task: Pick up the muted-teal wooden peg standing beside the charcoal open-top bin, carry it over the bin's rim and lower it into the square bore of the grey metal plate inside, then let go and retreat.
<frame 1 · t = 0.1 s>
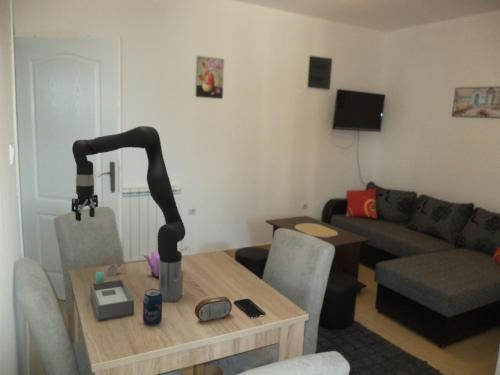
hand: (85, 218, 173), 29 cm above the table, fingers open, 8 cm apart
bluetooth speaker: (213, 319, 148), on the table
phone: (248, 310, 158), on the table
soda can: (152, 322, 143), on the table
lighter: (115, 275, 185), on the table
peg: (99, 289, 167), on the table
teapot: (162, 275, 188), on the table
bin: (111, 305, 154), on the table
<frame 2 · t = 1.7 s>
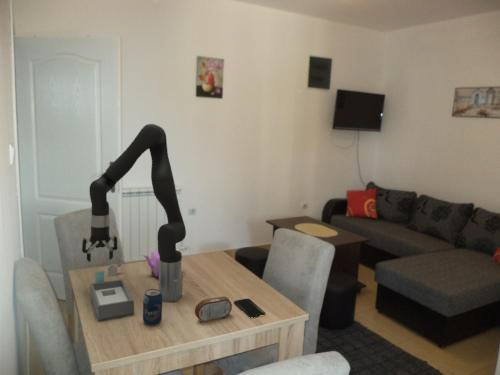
hand: (99, 260, 166), 14 cm above the table, fingers open, 8 cm apart
nothing on the table moved.
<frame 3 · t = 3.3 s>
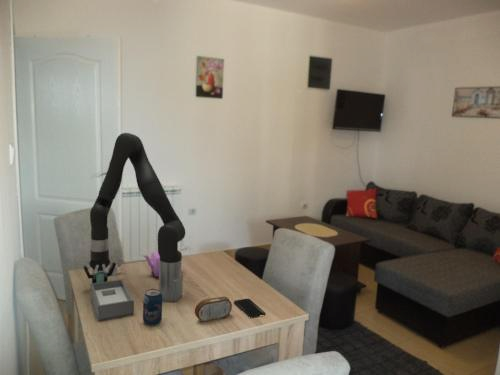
hand: (99, 285, 167), 2 cm above the table, fingers closed on peg, 3 cm apart
peg: (99, 289, 167), on the table, touching gripper
everything else where it was.
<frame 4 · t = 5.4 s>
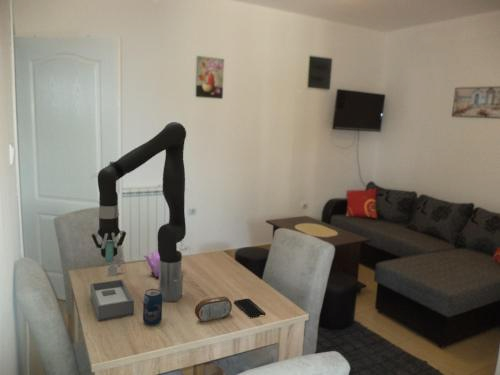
hand: (109, 256, 156), 19 cm above the table, fingers closed on peg, 3 cm apart
peg: (109, 260, 157), point 17 cm above the table, touching gripper
everything else where it was.
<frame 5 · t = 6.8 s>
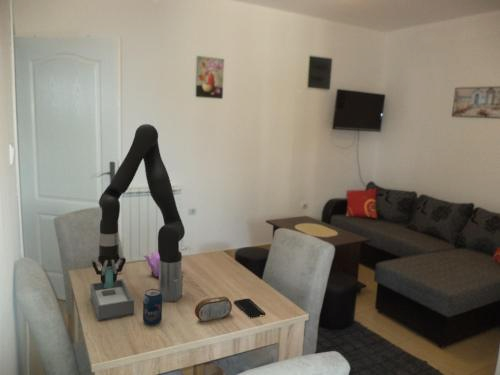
hand: (108, 282, 158), 8 cm above the table, fingers closed on peg, 3 cm apart
peg: (108, 286, 158), point 6 cm above the table, touching gripper
everything else where it was.
when the fingers open (4 cm above the table, at t = 7.8 s): peg drops 1 cm, resting on bin.
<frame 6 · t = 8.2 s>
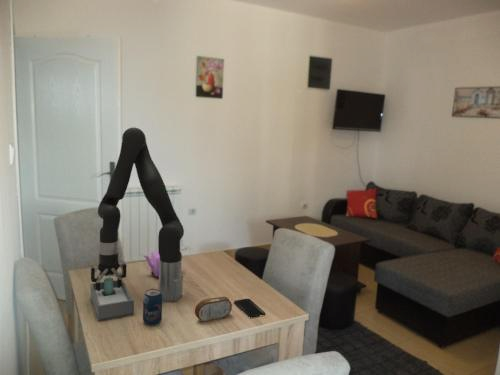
hand: (108, 288, 158), 5 cm above the table, fingers open, 7 cm apart
peg: (108, 297, 159), point 1 cm above the table, touching bin
everything else where it was.
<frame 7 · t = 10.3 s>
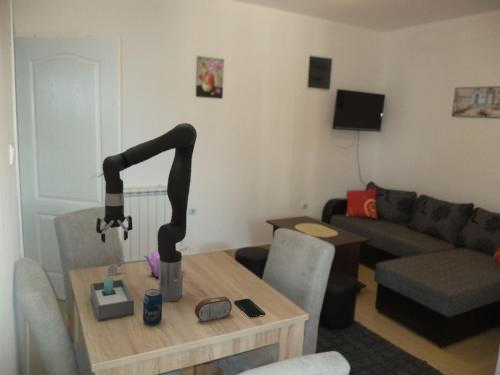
hand: (114, 241, 159), 24 cm above the table, fingers open, 8 cm apart
nothing on the table moved.
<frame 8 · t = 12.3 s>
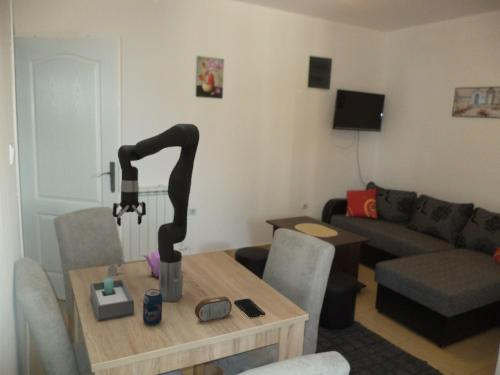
hand: (129, 225, 171), 28 cm above the table, fingers open, 8 cm apart
nothing on the table moved.
at the end: peg 0.1 cm from the target spot on the bin, point 0.8 cm above the bin's base; peg tilted 1°; the gripper is holding nothing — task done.
